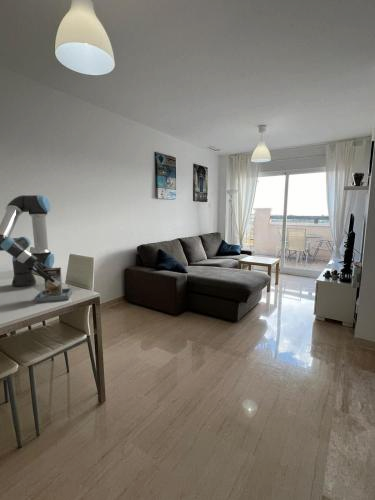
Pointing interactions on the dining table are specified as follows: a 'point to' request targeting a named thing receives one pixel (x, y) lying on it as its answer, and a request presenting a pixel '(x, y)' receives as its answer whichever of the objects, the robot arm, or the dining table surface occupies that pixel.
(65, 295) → the tray
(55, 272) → the coffee box
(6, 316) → the dining table surface
